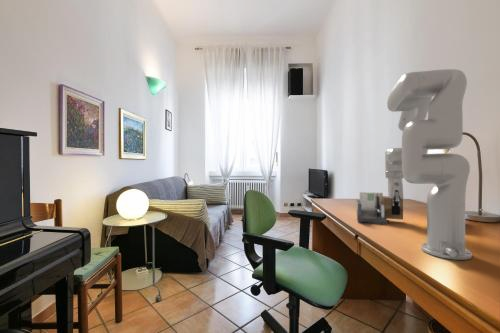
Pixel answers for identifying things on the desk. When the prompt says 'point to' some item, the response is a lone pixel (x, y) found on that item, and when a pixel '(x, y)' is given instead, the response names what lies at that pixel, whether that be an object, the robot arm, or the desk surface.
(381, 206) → the plate
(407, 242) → the desk surface
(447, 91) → the robot arm
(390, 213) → the push block
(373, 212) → the stand
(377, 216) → the dark flat plank
